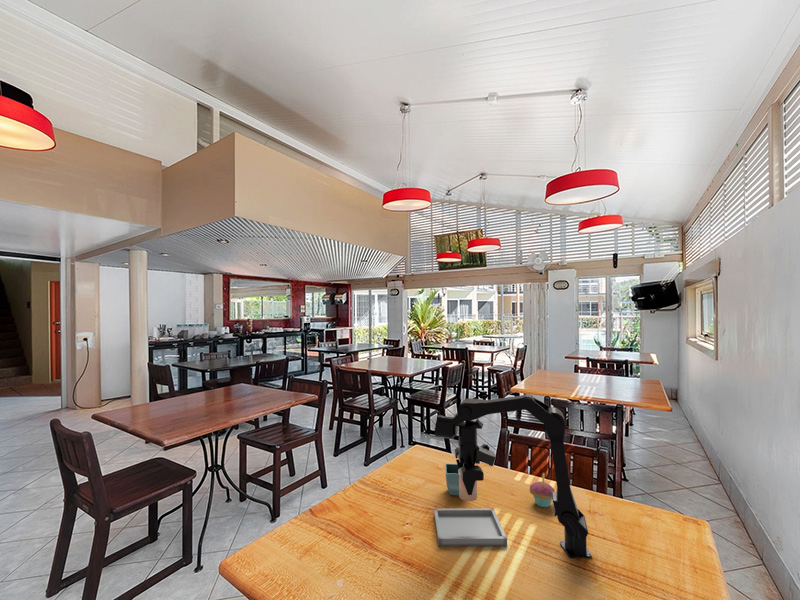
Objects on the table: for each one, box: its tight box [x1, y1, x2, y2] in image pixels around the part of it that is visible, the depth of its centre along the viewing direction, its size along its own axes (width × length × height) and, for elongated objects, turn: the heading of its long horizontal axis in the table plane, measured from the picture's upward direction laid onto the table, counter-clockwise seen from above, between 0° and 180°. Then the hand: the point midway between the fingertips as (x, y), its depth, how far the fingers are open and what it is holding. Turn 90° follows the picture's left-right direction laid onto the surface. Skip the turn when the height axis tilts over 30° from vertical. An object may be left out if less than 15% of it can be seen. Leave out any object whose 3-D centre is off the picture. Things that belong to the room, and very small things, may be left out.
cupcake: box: [529, 472, 556, 508], centre depth 130 cm, size 9×8×12 cm
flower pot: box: [444, 463, 459, 497], centre depth 138 cm, size 9×9×9 cm
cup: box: [458, 468, 478, 502], centre depth 115 cm, size 6×6×8 cm
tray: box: [433, 507, 508, 547], centre depth 115 cm, size 16×20×2 cm
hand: (468, 490), depth 115 cm, fingers closed on cup, 6 cm apart
